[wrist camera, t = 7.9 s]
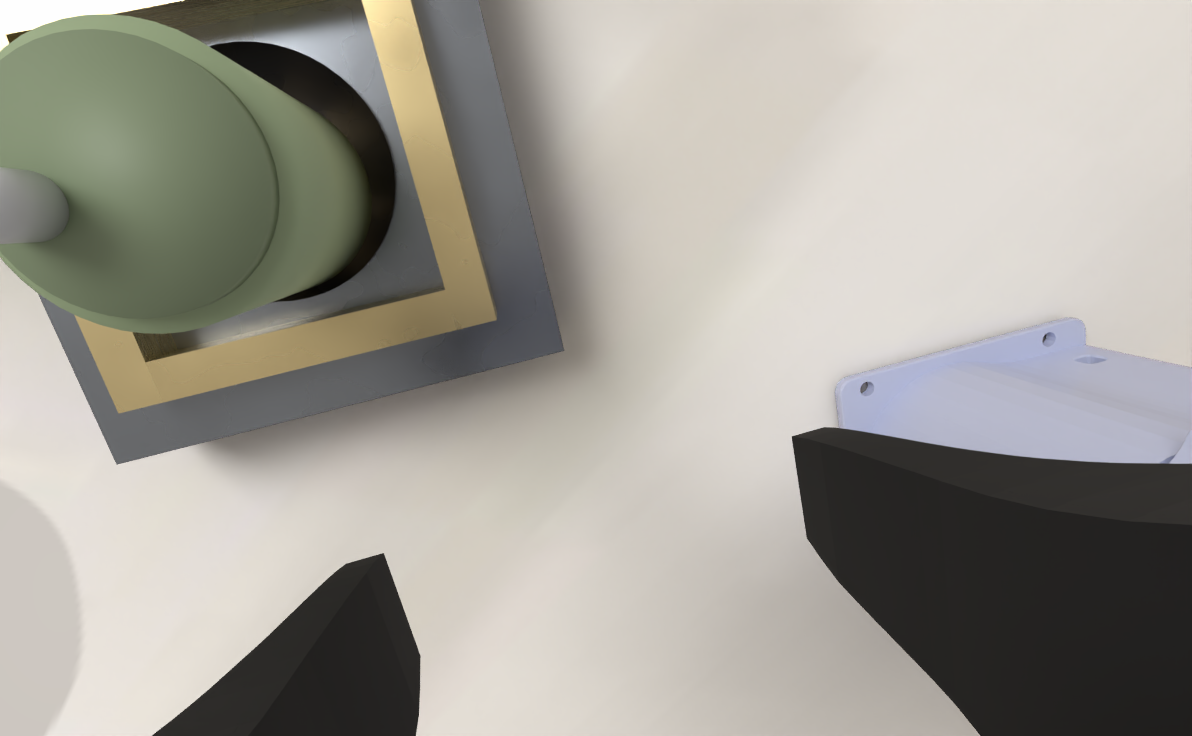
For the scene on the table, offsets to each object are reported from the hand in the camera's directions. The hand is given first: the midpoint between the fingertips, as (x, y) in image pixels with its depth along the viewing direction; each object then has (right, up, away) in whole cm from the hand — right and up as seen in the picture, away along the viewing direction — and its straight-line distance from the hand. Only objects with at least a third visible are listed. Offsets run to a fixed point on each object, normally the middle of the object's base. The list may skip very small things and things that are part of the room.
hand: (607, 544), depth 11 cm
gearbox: (-10, +8, +7) cm, 15 cm away
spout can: (-8, +7, +5) cm, 12 cm away
